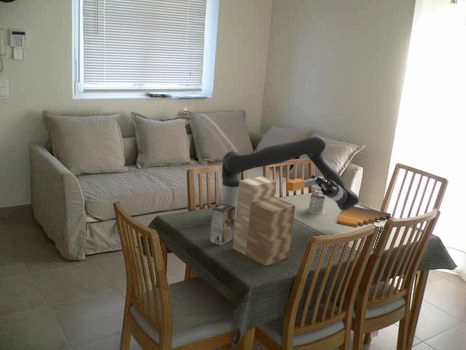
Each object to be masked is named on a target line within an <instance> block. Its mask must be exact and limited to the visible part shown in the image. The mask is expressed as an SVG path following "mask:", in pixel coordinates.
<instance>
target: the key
mask: <svg viewBox="0 0 466 350" xmlns="http://www.w3.org/2000/svg"><path fill="white" fill-rule="evenodd" d="M317 177H320V178H321V179H323V180H325V178H324V176H321V175H320V176H319V175H318V176H316V177H314V178H311V177H310V178H306V179H302V178H300V177H299V178H298V177H297V178H294V179H290V180H287V181H286V184H285V185H286V186H285V190H287V191H290V192H295V191H299V190H304V189H305V188H308V187H312V185H316V184H319V183H318V182H317V181H316V179H317Z"/></svg>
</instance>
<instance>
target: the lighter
mask: <svg viewBox="0 0 466 350" xmlns="http://www.w3.org/2000/svg"><path fill="white" fill-rule="evenodd" d="M378 227H379V228H380V230H379V233H378V236H377V239H376V242H375V245H374V248H373V249H376V248H375V246H376V244H377V241H378V239H379V236H380V234H381V232H382V230H384V229H383V227H384V228H385V226H384V225H381V226H378Z"/></svg>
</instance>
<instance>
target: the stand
mask: <svg viewBox="0 0 466 350" xmlns="http://www.w3.org/2000/svg"><path fill="white" fill-rule="evenodd" d="M276 185H277V181H276V180H274V179H272V178H268V177H266V176H263V175H262V176H256V177H251V178H246V179H241V180H240V181H239V190H238V200H237V210H236V219H235V220H234V229H233V239H232V240H233V241H232V249H233V250H235V251H237V252H239V253H240V252H241V255H245V256H246V257H248V258H249V257H250V258H249V259H251V258H252V259H251V260H253V259H254V260H253V261H255V260H256V261H255V262H257V261H258V262H260V263H262V264H263V265H262V264H261V265H262V266H264V265H265V266H264V267H267V266H266V265H268V266H270V265H269V264H271V265H273V264H272V263H274V264H276V263H278V262H277V261H279V262H281V261H280V260H282V261H284V260H283V259H285V258H287V259H289V255H290V248H291V240H292V231H293V226H294V218H295V212H296V211H295V210H296V205H295V204H293V203H290V202H288V201H285V200H282V199H281V198H278V197H277V198H276V197H274V195H275V194H276ZM285 260H286V259H285ZM258 262H257V263H258ZM275 262H276V263H275ZM260 263H259V264H260Z"/></svg>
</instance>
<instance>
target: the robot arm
mask: <svg viewBox="0 0 466 350" xmlns="http://www.w3.org/2000/svg"><path fill="white" fill-rule="evenodd" d="M326 144H327V143H326V141H325V139H324V138H323V137H321V136H318V135H317V136H315V135H314V136H310V137H308V138H304V139H301V140H297V141H293V142H286V143H279V144H273V145H270V146H266V147H264V148H262V149H260V150H258V151H255V152H253V153H250V154H248V153H247V154H239V153H238V152H236V151H228V152H226V154H225V155H224V156H223V158H222V164H221V165H222V166H221V167H222V168H221V169H222V170H221V178H222V179H221V180H222V183H221V194H220V195H221V196H220V198H219V201H218V203H219V204H218V206H219V205H221V204H227V205H231V206H234V207H235V215H234V221H235V220H236V210H237V200H238V190H239V181H240V180H242V178H241V173H243V172H246V171H249V170H251V169H255V168H261V167H267V166H272V165H279V164H282V163H286V162H288V161H291V160H293V159H294V158H297V157H300V156H305V155H306V156H307V157H308V158H309V160H310V161H311V162H312V163H313V164H314V165H315V167H316V168H317V169H318V171H319V172H320V174H321V173H322V174H321V176H322V177H323V178H324V179H321V178H320V177H321V176H320V177H318V176H316V175H315V174H312V175H311V177H310V178H314V177H317V179H316V181H317V182H318V183H319V184H316V185H317V186H319V188H321V190H320V193H323V194H324V195H325V196H324V197H327V198H329V199H330V200H332V201H334V202H335V203H336V205H337V207H338V209H339V210H340V211H342V210H343V211H345V210H348V209H349V208H351V207H353V206H355V207H356V205H358V204H359V200H360V199H359V197H358V195H357V194H356V193H355V192H354V191H353V190H352V189H351V188H350V187H349V186H348V185H346V182H345V181H344V180H343V178H342V176H341V175H340V173H339V172H338V171H337V170H336V169H335V168H334V167H333V166H332V165H331V164H330V163H329V162H328V161H327V160H326V158H325V156H324V154H323V152H324V151H325V149H326V146H327V145H326Z"/></svg>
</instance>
